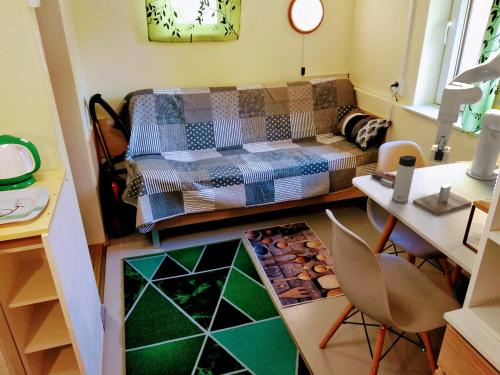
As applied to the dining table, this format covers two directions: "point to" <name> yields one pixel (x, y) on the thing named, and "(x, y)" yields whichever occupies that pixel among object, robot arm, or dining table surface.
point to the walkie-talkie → (385, 177)
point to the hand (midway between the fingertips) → (439, 156)
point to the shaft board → (442, 202)
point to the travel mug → (403, 179)
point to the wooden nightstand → (445, 156)
